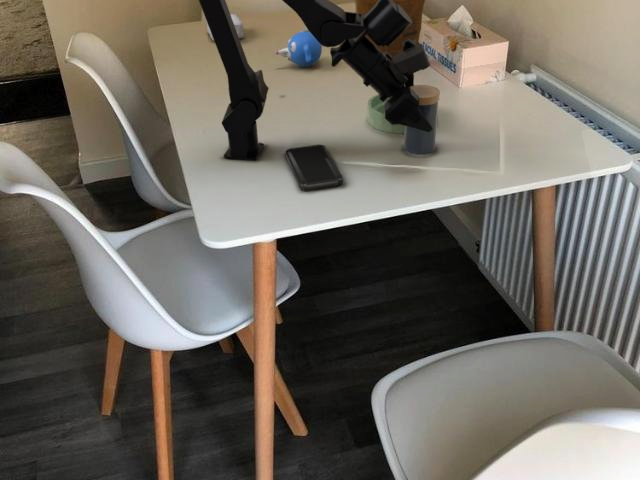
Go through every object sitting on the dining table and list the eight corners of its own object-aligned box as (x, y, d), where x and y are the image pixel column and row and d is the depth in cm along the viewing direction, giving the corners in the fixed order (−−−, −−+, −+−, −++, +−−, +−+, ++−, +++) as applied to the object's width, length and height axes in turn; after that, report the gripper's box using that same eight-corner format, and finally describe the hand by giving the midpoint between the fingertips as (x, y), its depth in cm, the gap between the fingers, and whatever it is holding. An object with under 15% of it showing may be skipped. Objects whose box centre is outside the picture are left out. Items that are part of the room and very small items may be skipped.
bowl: (432, 138, 133) (433, 118, 131) (362, 134, 136) (362, 114, 134) (437, 110, 145) (438, 92, 142) (372, 107, 147) (373, 89, 145)
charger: (215, 48, 185) (207, 33, 197) (248, 44, 187) (238, 29, 199) (213, 31, 182) (205, 16, 194) (246, 27, 184) (237, 13, 196)
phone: (301, 186, 116) (284, 149, 129) (301, 191, 117) (284, 154, 129) (344, 179, 118) (324, 143, 130) (344, 185, 118) (324, 148, 131)
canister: (426, 160, 125) (429, 100, 119) (396, 152, 129) (398, 93, 122) (441, 147, 130) (445, 88, 123) (412, 140, 133) (415, 82, 126)
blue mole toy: (271, 61, 174) (268, 29, 170) (315, 56, 177) (314, 24, 172) (281, 77, 165) (279, 43, 160) (327, 71, 167) (326, 37, 162)
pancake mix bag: (431, 66, 167) (438, -54, 152) (357, 74, 164) (356, -48, 149) (422, 58, 173) (428, -59, 157) (350, 65, 170) (349, -53, 154)
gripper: (407, 48, 109) (469, 111, 114) (400, 16, 124) (455, 72, 130) (358, 95, 114) (420, 153, 119) (357, 58, 129) (412, 111, 135)
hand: (428, 120), depth 126 cm, fingers open, 9 cm apart
